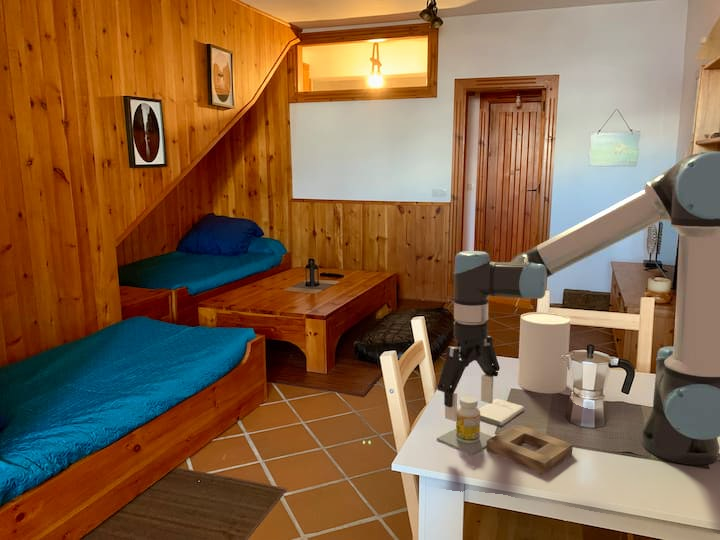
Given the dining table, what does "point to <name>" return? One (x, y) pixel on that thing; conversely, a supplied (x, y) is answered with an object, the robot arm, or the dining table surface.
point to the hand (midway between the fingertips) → (469, 410)
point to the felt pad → (466, 447)
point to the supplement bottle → (468, 420)
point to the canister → (543, 352)
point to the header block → (539, 461)
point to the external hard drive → (499, 411)
